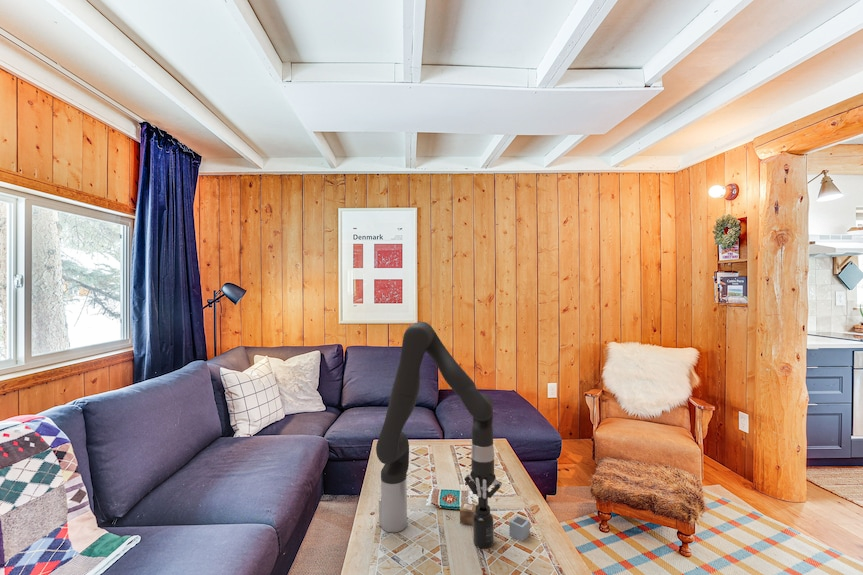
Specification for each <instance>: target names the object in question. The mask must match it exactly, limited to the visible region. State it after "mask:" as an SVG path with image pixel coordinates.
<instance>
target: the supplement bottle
mask: <svg viewBox="0 0 863 575" xmlns="http://www.w3.org/2000/svg"><path fill="white" fill-rule="evenodd" d="M490 507H491V506H490V505H489V504H488V505H487V507H485V509H482V508H480V506H479V504H476V513H475V514H474V516H473V526H472V531H473V532H472V534H473V536H472V538H473V543H474V545H475V546H476V547H478V548H480V549H489V548H491V547H492V546H493V545H494V541H495V540H494V539H495V538H494V537H495V536H494V528H495V527H494V517H493V515H492V513H491V508H490Z"/></svg>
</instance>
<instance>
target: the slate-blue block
mask: <svg viewBox="0 0 863 575" xmlns="http://www.w3.org/2000/svg"><path fill="white" fill-rule="evenodd" d="M530 525H531V524H530V519H527V518H525V517H523V516H520V515H518V514H516V515H515V516H514V517H512V519H511V520H509V536H510V537H512V538H514V539H516V540H518V541H520V542H522V543H523V542H524V541H525V540H526V539H527V538H528V537H529V536H530V535H531V534H530V531H531V530H530V529H531V527H530Z"/></svg>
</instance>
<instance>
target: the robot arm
mask: <svg viewBox="0 0 863 575" xmlns="http://www.w3.org/2000/svg"><path fill="white" fill-rule="evenodd" d="M400 352H401V353H400V359H399V364H398V367H397V370H396V373H395V377H394V380H393V381H394V382H393V384H392V388H391V393H390V397H389V402H388V406H387V410H386V412H385V413H386V414H385V417H384V422H383V425H382V428H381V431H380V434H379V436H378V439H377V441H376V442H377V443H376V446H375V448H376V449H375V452H376V456H377V458H378V459H377V460H379V462H381V463H382V464H384V465H383V466H382V468H381V470H380V496H381V497H380V498H379V499H378V526H379V527H381V528H382V529H383V531H385V532H387V533H398V532H399V533H400V532H402V531H403V530H405V529H406V527H407V526H408V494H407V493H408V492H407V491H408V490H407V487H408V486H407V484H408V483H407V480H408V479H407V475H408V474H407V473H408V470H409V467H410V466H409V464H410V443H409V439H408V437H407V435H406V434H405V432H403V429H404V426H406V423H407V421H408V420H409V418H410V416H411V414H412V413H413V412H414V409H415V407H416V404H417V400H418V397H419V392H420V387H421V376H420V375H421V374H420V371H421V370H420V369H421V366H422V362H423V358H424V356H425V353H427V354H428V355H429V357H430V358H431V359H432V361H433V362H434V363H435V365H436V366H437V368H438V370H439V373H440V375H441V376H442V377H443V379H444V381H445V382H446V384H448V386H449V388H450V389H451V390H452V391H453V392H454V393H455V394H456V395H457V396H458V397H459V399H460V401H461V402H462V404H463V405H464V407H465V408H466V410H467V411H468V413H469V414H470V415H471V416H472V419H473V420H472V421H473V422H472V429H471V452H470V456H471V463H470V464H471V471H470V474H467V475H466V476H465V477H464V481H465V483H466V485H467V486H468V488H469V489H470V490H471V493H472V494H473V495H476V496H477V497H478V500H477V501H478V504H479V506H480V508H482V509H485V507H487V505H489V499H491V498H492V497H493V496H494V495H495V494H496V493H497V492H498V491H499V489H500V488H502V487H501V486H502V484H503V482H502V481H498V480H497V478H496V474H495V449H494V430H493V419H494V415H493V414H494V403H493V400H492V398H491V397H490V396H489V395H487V394H485V393H480V392H479V390H478V389H477V386H476V384H475V382H474V380H472V378H471V377H470V376H469V375H468V374H467V372H466V371H465V370H464V369H463V368H462V367H461V366H460V365H459V363H458V362H457V361H456V359H455V358H454V357H453V355H451V353H450V352H449V351H448V349H447V348H446V346H445V345H444V344H443V342H442V340H441V339H440V338H439V336H438V334H437V333H436V331H435V330H434V328H433V327H432V326H431V324H429V323H428V322H425V321H416V322H415V323H413V324H412V325H410V326H409V327H407V328H406V330H405V331H404V333H403V336H402V345H401V351H400ZM492 484H493V485H492ZM491 486H493V487H492V489H491V490H490V487H491ZM489 490H490V491H489ZM478 504H477V505H478Z"/></svg>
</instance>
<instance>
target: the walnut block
mask: <svg viewBox="0 0 863 575" xmlns="http://www.w3.org/2000/svg"><path fill="white" fill-rule="evenodd" d="M476 505H477V504H475V503H468V502H462V504H461V506H460V509H459V524H461V523H462V525H466V524H467V525H468V526H472V525H473V516H474V514H475V513H476Z"/></svg>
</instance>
